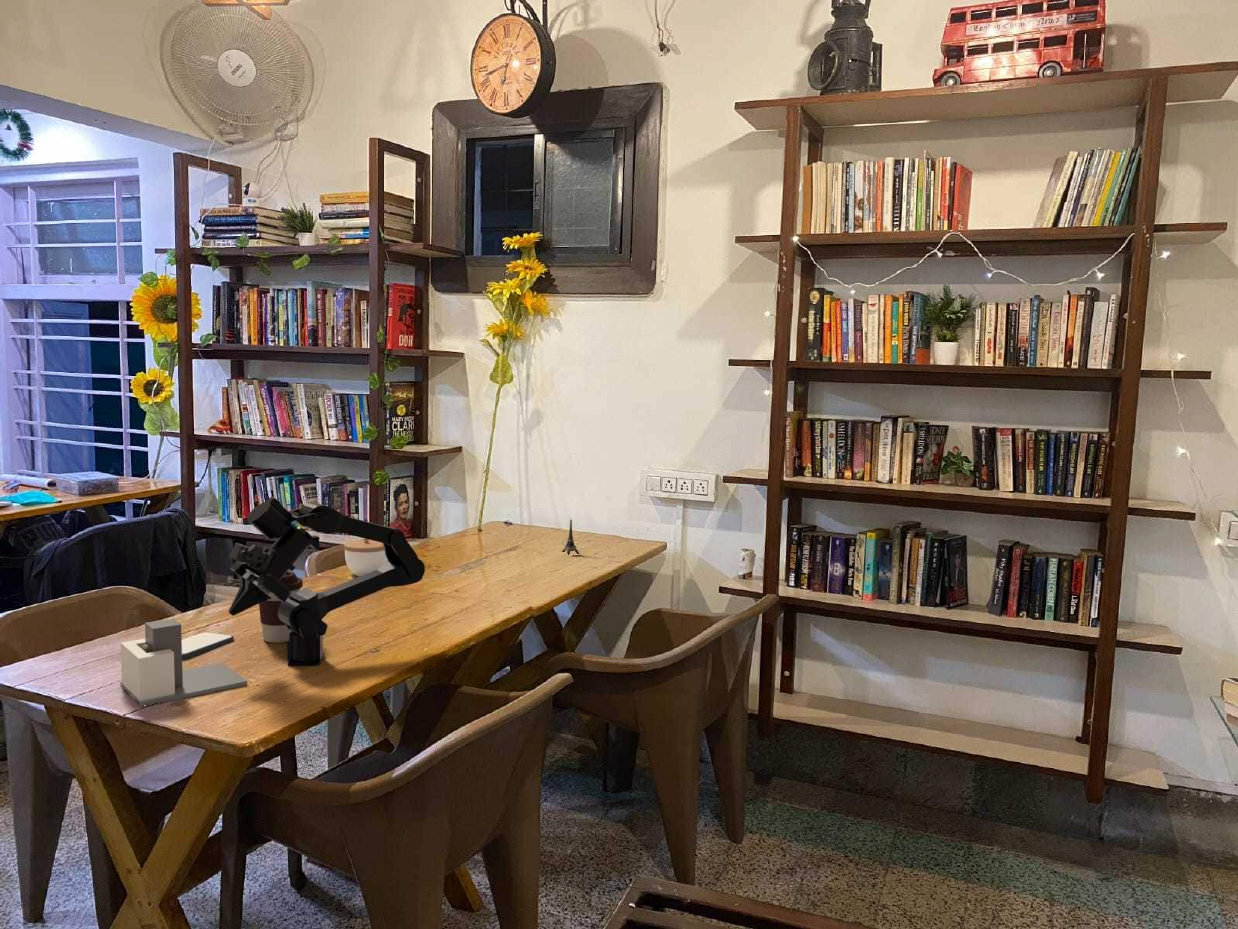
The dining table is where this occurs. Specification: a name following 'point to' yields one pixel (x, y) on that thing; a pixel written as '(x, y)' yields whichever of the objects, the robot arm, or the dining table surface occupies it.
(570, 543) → the eiffel tower figurine
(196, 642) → the smartphone
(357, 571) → the lidded bowl
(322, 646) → the robot arm
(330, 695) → the dining table surface
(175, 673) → the plug
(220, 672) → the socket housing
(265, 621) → the coffee cup
